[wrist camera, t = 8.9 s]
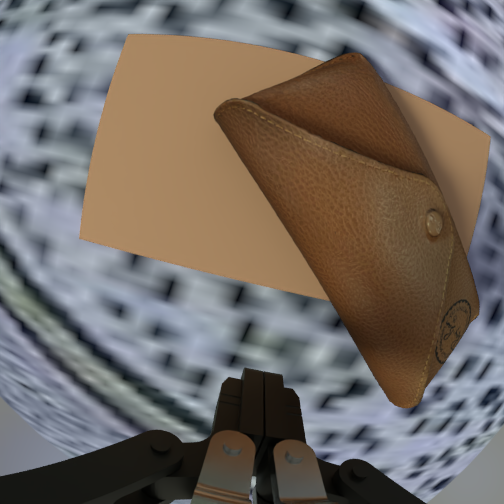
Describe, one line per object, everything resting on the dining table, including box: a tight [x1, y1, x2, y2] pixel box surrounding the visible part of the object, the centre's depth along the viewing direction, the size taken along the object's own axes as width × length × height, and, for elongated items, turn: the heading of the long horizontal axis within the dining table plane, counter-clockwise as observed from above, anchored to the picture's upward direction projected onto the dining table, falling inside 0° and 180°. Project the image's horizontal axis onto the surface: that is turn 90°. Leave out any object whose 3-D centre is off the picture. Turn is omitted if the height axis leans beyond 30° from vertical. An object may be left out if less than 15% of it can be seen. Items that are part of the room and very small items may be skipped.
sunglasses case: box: [213, 53, 479, 408], centre depth 13 cm, size 18×7×7 cm
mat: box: [79, 34, 490, 301], centre depth 15 cm, size 12×22×1 cm, turn 77°
